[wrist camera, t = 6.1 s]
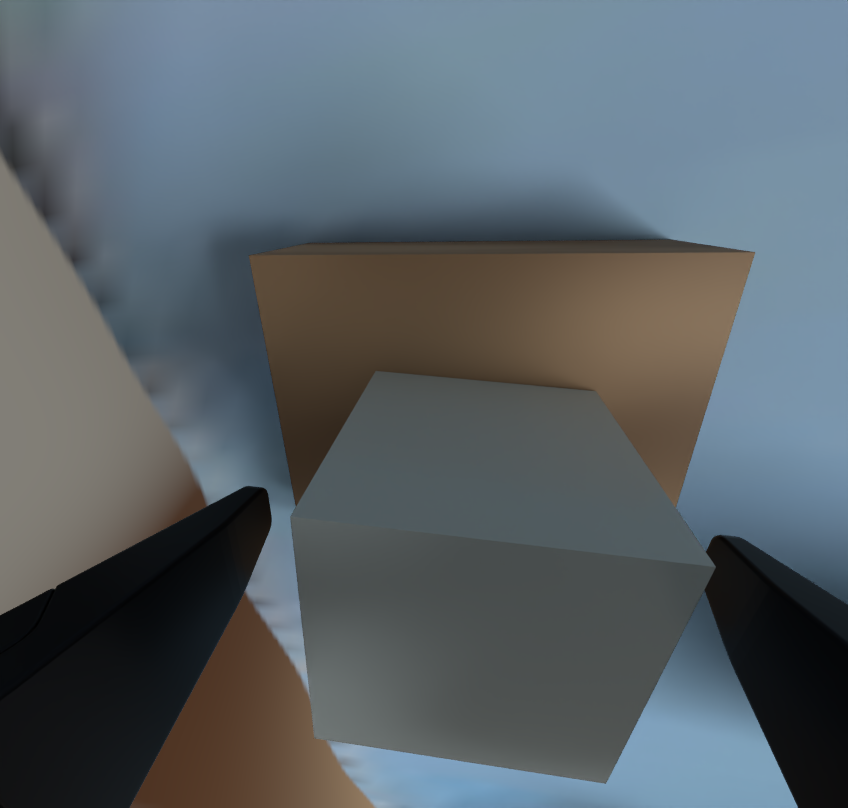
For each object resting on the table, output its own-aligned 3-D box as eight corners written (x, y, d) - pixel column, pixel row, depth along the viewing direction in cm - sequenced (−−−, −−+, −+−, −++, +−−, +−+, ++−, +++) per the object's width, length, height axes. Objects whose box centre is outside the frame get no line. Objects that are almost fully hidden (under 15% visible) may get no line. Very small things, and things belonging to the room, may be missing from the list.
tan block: (602, 521, 16) (642, 615, 12) (346, 507, 17) (311, 589, 13) (665, 238, 11) (755, 252, 8) (314, 241, 12) (248, 255, 9)
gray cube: (552, 555, 11) (605, 783, 7) (374, 534, 12) (314, 738, 7) (596, 391, 9) (716, 567, 5) (375, 370, 10) (289, 515, 5)
